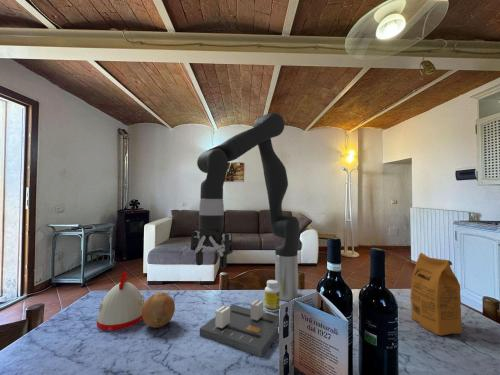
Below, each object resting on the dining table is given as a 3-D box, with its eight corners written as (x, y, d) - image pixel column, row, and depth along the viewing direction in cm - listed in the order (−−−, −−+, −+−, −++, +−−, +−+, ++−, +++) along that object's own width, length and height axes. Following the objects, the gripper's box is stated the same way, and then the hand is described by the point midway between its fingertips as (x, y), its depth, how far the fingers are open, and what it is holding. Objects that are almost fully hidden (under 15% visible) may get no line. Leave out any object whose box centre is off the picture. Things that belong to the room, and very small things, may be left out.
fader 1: (223, 320, 72) (223, 305, 72) (229, 322, 70) (230, 306, 71) (215, 326, 68) (215, 310, 68) (222, 328, 67) (222, 312, 67)
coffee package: (433, 316, 80) (431, 251, 81) (469, 337, 67) (465, 260, 69) (405, 316, 80) (403, 251, 81) (435, 337, 67) (432, 260, 69)
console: (232, 310, 83) (232, 304, 83) (285, 324, 74) (285, 317, 74) (199, 335, 68) (199, 327, 68) (261, 357, 58) (261, 348, 58)
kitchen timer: (146, 307, 85) (148, 266, 86) (141, 326, 72) (143, 277, 73) (103, 312, 81) (105, 269, 82) (90, 333, 68) (92, 281, 69)
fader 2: (256, 313, 76) (256, 299, 77) (263, 314, 75) (263, 300, 75) (250, 318, 73) (250, 303, 73) (257, 320, 72) (257, 305, 72)
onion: (169, 314, 80) (170, 285, 80) (178, 327, 72) (179, 294, 72) (138, 323, 74) (139, 291, 75) (145, 338, 66) (146, 302, 67)
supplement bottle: (278, 313, 82) (278, 284, 82) (263, 311, 83) (263, 283, 83) (280, 306, 87) (280, 279, 87) (265, 304, 88) (265, 278, 89)
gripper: (237, 213, 72) (236, 266, 71) (201, 212, 79) (200, 261, 78) (224, 214, 66) (223, 273, 65) (185, 213, 72) (184, 266, 71)
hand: (210, 266), depth 71 cm, fingers open, 8 cm apart
